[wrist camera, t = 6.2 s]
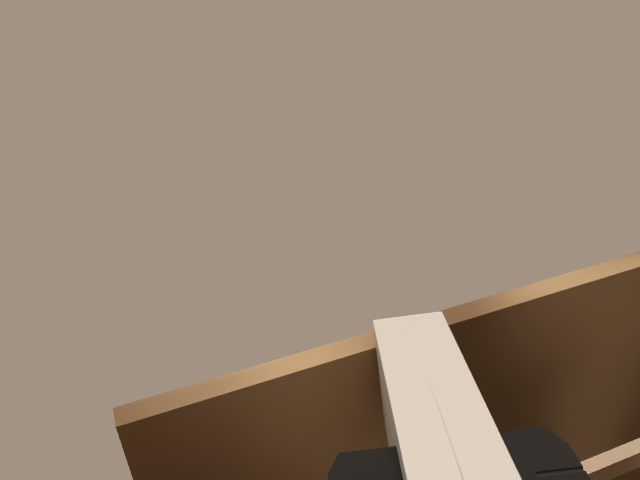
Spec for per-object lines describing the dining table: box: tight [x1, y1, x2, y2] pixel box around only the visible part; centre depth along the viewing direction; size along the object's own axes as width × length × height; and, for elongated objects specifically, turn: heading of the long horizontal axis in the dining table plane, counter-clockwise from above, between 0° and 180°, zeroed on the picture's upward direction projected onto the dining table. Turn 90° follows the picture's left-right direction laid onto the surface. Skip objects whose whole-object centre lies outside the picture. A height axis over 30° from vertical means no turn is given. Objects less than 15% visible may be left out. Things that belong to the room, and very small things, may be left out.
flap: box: [113, 252, 640, 480], centre depth 17 cm, size 17×8×1 cm
